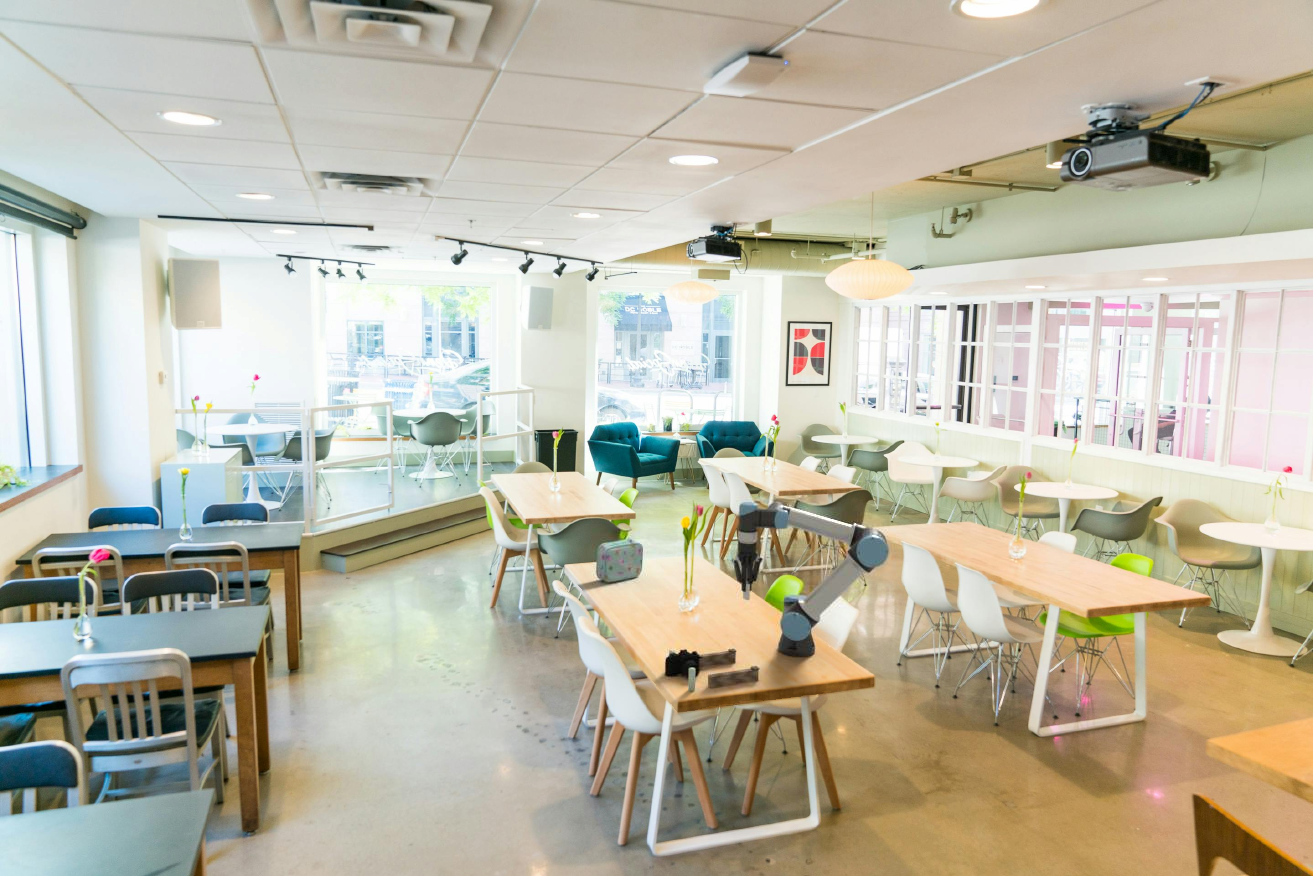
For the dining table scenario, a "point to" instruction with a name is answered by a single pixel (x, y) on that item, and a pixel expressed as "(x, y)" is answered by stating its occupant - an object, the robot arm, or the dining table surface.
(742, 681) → the chute
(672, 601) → the dining table surface
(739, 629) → the dining table surface
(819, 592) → the robot arm
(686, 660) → the film camera
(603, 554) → the lunch box
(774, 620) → the dining table surface
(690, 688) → the posts
